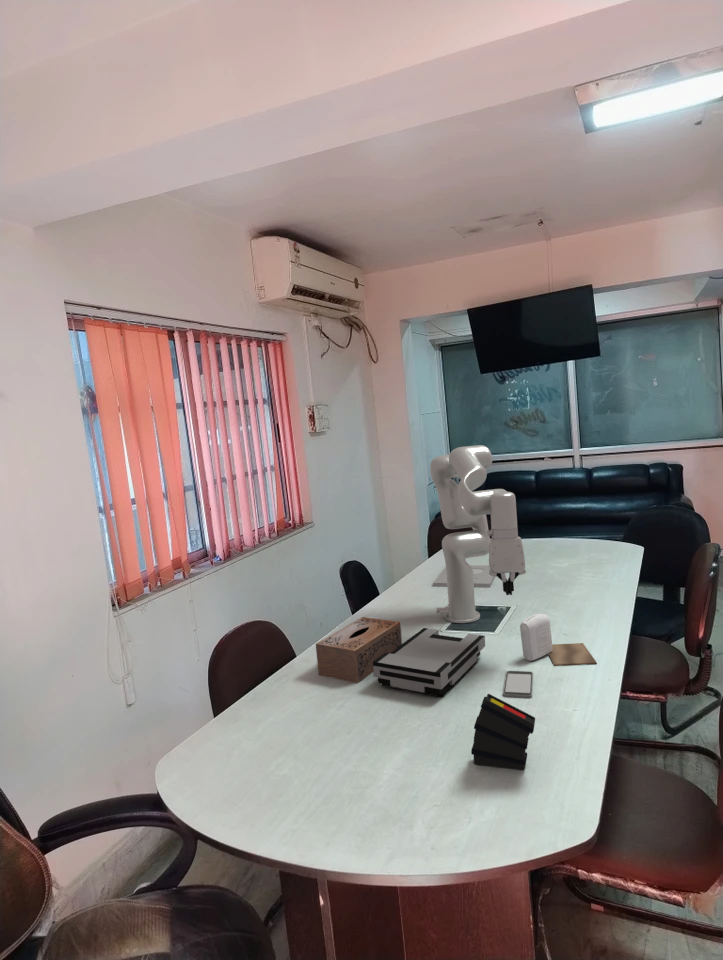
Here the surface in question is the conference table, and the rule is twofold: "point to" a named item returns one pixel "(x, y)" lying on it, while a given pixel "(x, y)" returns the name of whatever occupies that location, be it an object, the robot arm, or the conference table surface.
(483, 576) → the award plaque
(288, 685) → the conference table surface
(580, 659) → the board
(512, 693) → the smartphone
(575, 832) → the conference table surface
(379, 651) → the tissue box cover
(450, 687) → the game console
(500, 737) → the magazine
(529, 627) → the photo printer
